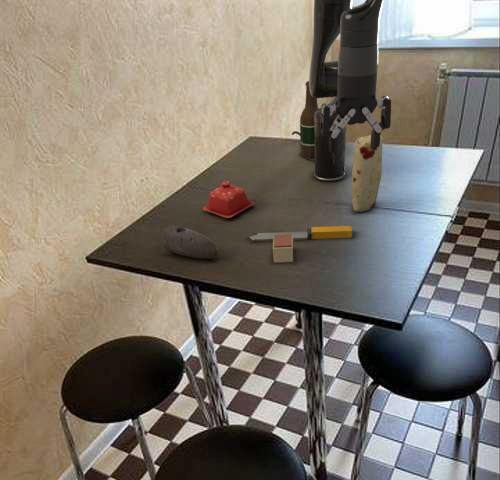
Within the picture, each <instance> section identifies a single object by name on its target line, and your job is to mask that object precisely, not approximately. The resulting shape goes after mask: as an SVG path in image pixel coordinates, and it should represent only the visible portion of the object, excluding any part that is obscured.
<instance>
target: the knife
mask: <svg viewBox="0 0 500 480" xmlns="http://www.w3.org/2000/svg"><path fill="white" fill-rule="evenodd" d="M287 234H292V236H293V241H308V240H321V239H322V240H323V239H324V240H325V239H326V240H327V239H351V238H353V228H352V225H336V226H335V225H334V226H332V225H331V226H311V227H308V228H307V231H281V232H275V231H274V232H257V233H256V234H254V235H251V236H249V240H250V241H251V242H252V243H255V242H257V243H259V242H273V238H274V235H287Z"/></svg>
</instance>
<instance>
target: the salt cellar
mask: <svg viewBox="0 0 500 480" xmlns="http://www.w3.org/2000/svg"><path fill="white" fill-rule="evenodd" d="M272 256H273V258H272V259H273V263H275V264H276V263H294V240H293V236H292V234H287V235H274V238H273V241H272Z"/></svg>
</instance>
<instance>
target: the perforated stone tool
mask: <svg viewBox="0 0 500 480" xmlns="http://www.w3.org/2000/svg"><path fill="white" fill-rule="evenodd" d="M161 238H162V243H163V246H164V248H165V249H166V250H167V251H169V252H171V253H173V254H176V255H178V256H182V257H188V258H194V259H201V260H210V259H214V258H216V257H217V256H218V253H219V249H218V247H217V245H216V243H214V241H213V240H212V239H211V238H209V237H208V236H206V235H205V234H203V233H200V232H198V231H196V230H194V229H190V228H188V227H184V226H179V225H173V224H171V225H169V226H166V227H165V228H164V229H163V231H161Z"/></svg>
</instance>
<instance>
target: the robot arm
mask: <svg viewBox="0 0 500 480" xmlns="http://www.w3.org/2000/svg"><path fill="white" fill-rule="evenodd" d="M383 3H384V0H365V1H364V2H363V3H361V4H358V5H356V6H353V7H352V5H353V0H313V28H312V31H313V32H312V46H311V55H310V56H311V57H310V65H309V74H308V81H309V90H310V93H311V95H312V97H314V98H317V99H325V98H333V99H332V100H331V101H330V102H328V103H325V102H324V103H322V104H321V105H320V106H321V107H320V108H319V109H318V110H317V111H316V112H315V158H309V157H308V156H306V155H305V156H304V157H305V159H306V160H308V161H310V162H312V163H314V178H315V179H316V180H317V181H320V182H326V183H330V182H331V183H332V182H337V181H341V180H342V179H344V178H345V176H346V172H345V170H346V145H347V144H346V142H347V141H346V140H347V125H348V126H352V125H356V124H359V125H361V124H365V123H366V122H367V123H368V125H370V127H371V128H372V130H371V132H370V135H371V145H370V147H371V149H372V150H377V147H379V145H380V135H381V133H382V131H384V130H386V129H387V130H389V129H390V128H391V124H392V123H391V121H392V119H391V118H392V99H391V98H390V97H388V96H386V95H383V96H382V97H380V98H377V97H376V96H377V95H376V94H377V83H378V82H377V81H378V69H379V31H380V19H381V13H382V8H383ZM338 37H339V50H338V55H337V56H338V58H337V60H332V61H326V58H327V55H328V53H329V51H330V49H331V47H332V46H333V44H334V43H335V41H336V40H337V38H338ZM377 106H378V109H380V121H379V122H378V121H377V119H376V117H374V115H373V113H374V111H375V110H376V109H377ZM295 134H296V135H298V136H299V137H300V131H296V130H294V131H292V132H291V135H295ZM381 136H382V135H381ZM304 157H303V158H304Z"/></svg>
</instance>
